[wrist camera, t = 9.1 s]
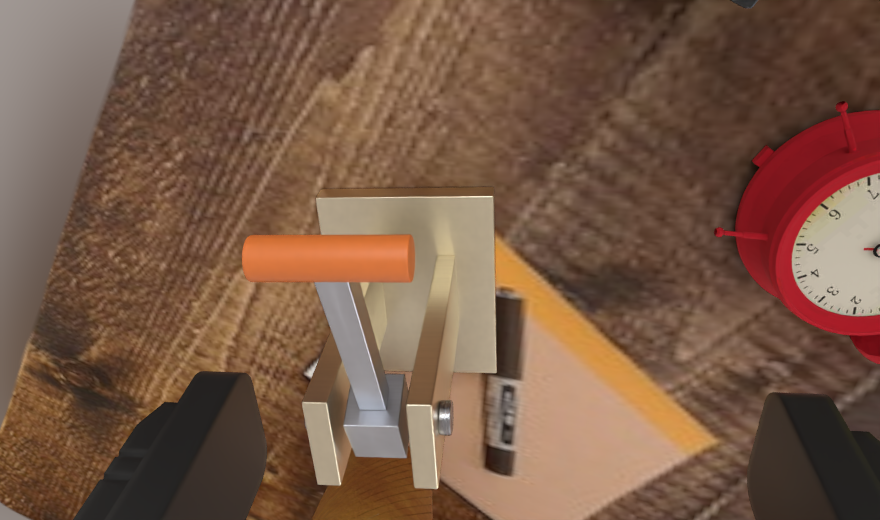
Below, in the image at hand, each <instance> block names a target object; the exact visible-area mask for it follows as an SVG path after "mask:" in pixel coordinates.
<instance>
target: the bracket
mask: <svg viewBox="0 0 880 520" xmlns="http://www.w3.org/2000/svg"><path fill="white" fill-rule="evenodd" d="M316 205H317V211H318V218H319V224H320V231H321V235H395V234H410V235H412V237H413V240H414V246H415V271H414V277H413V281H412V282H410V283H381V282H360V285H361V288H362V292H363V296H364V299H365V303H366V307H367V310H368V314H369V317H370V321H371V325H372V328H373V332H374V336H375V339H376V343H377V346H378V350H379V354H380V357H381V361H382V365H383V368H384V371H405V372H413V373H412V378H411V383H410V387H409V392H408V397H407V402H406V412H407V422H408V432H409V442H410V452H411V462H412V472H413V482H414V487H415V488H424V489H438V487H439V479H440V471H441V463H442V455H443V447H444V440H445V435H452V431H453V402H452V401H451V400H450V392H451V384H452V376H453V372H459V373H496V372H497V333H496V272H495V210H494V187H444V188H356V189H321V190H320V192H319V193H318V195H317V196H316ZM349 389H350V382H349V379H348V376H347V373H346V371H345V368H344V365H343V362H342V359H341V357H340V354H339V351H338V348H337V345H336V343H335V340H334V337H333V334H332V331H331V332H330V334H329V337H328V339H327V341H326V344H325V346H324V349H323V351H322V354H321V356H320V359H319V361H318V364H317V366H316V369H315V371H314V373H313V376H312V378H311V381H310V383H309V386H308V388H307V391H306V393H305V396H304V398H303V401H302V407H303V412H304V420H305V427H306V430H307V432H308V438H309V443H310V448H311V453H312V458H313V463H314V468H315V473H316V478H317V483H318V485H338V486H340V485H341V483H342V480H343V476H344V473H345V469H346V466H347V462H348V459H349V455H350V452H351V448H352V447H351V444H350V442H349V439H348V437H347V434H346V432H345V429H344V427H343V423H344V417H345V411H346V406H347V400H348V394H349Z"/></svg>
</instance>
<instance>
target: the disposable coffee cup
mask: <svg viewBox="0 0 880 520" xmlns="http://www.w3.org/2000/svg"><path fill="white" fill-rule="evenodd" d="M432 504H433V501H432V489H424V488H415V487H414V482H413V472H412V462H411V452H410V447H409V446H408V453H407V458H383V457H356V456H355V454H354V451H353V449H352V448H351V452H350V455H349V459H348V462H347V466H346V469H345V473H344V476H343V480H342V483H341V485H340V486H338V485H328V486H327V488H326V491H325V493H324V495H323V497H322V499H321V501H320V503H319V505H318V507H317V509H316V511H315V514H314V516H313V518H312V520H433V513H432V512H433V507H432Z"/></svg>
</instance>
